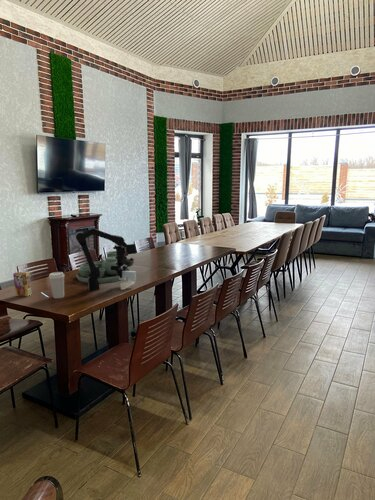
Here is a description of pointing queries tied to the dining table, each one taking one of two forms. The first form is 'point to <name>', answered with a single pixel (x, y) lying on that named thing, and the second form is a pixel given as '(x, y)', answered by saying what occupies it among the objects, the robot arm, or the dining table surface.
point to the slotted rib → (126, 284)
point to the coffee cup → (57, 284)
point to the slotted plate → (128, 275)
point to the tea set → (101, 269)
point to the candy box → (22, 283)
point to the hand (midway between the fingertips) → (122, 277)
